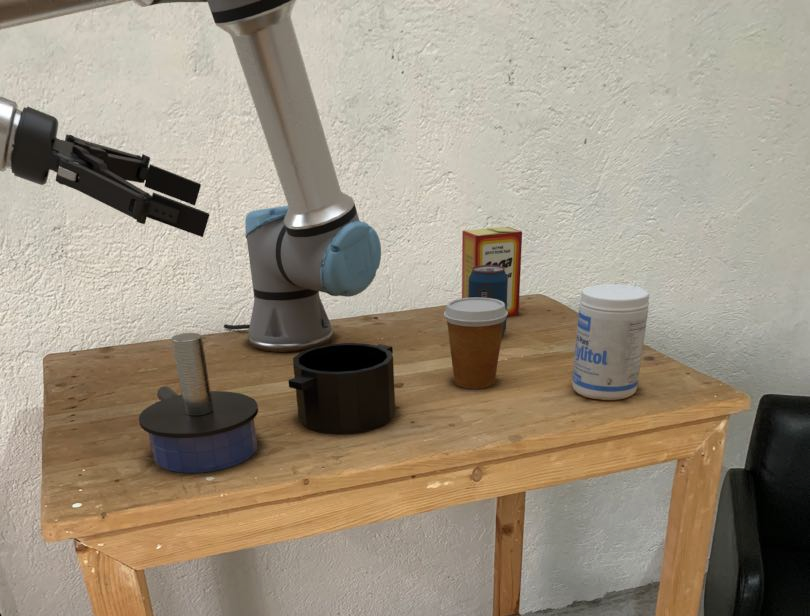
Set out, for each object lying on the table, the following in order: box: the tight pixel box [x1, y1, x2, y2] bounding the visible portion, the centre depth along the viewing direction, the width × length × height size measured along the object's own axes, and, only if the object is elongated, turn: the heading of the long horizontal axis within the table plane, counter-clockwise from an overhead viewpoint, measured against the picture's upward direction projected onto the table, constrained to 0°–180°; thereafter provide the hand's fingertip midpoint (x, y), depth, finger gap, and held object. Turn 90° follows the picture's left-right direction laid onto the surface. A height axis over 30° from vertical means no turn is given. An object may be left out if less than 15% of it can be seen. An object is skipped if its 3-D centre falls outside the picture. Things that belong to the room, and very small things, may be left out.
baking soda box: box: [461, 226, 523, 317], centre depth 155 cm, size 10×6×16 cm
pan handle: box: [157, 385, 179, 401], centre depth 110 cm, size 10×2×2 cm, turn 32°
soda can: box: [468, 265, 508, 336], centre depth 143 cm, size 7×7×12 cm
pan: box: [147, 418, 258, 474], centre depth 103 cm, size 13×13×5 cm
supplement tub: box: [571, 283, 650, 401], centre depth 115 cm, size 10×10×15 cm
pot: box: [287, 342, 396, 435], centre depth 111 cm, size 14×19×8 cm
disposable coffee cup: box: [443, 297, 508, 390], centre depth 121 cm, size 10×10×12 cm
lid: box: [138, 332, 259, 438], centre depth 99 cm, size 15×15×11 cm
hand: (202, 209), depth 99 cm, fingers open, 13 cm apart
